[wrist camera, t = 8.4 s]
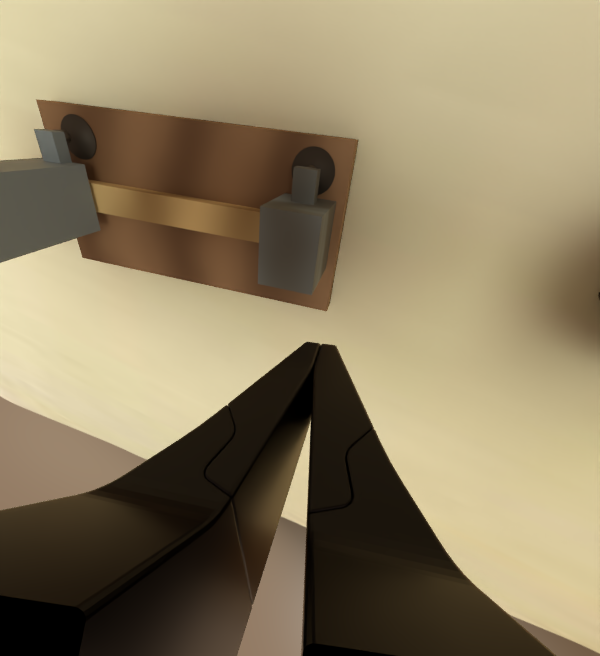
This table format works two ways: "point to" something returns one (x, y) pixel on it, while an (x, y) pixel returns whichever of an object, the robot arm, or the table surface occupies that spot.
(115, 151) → the hole plate
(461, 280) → the table surface
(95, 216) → the block
